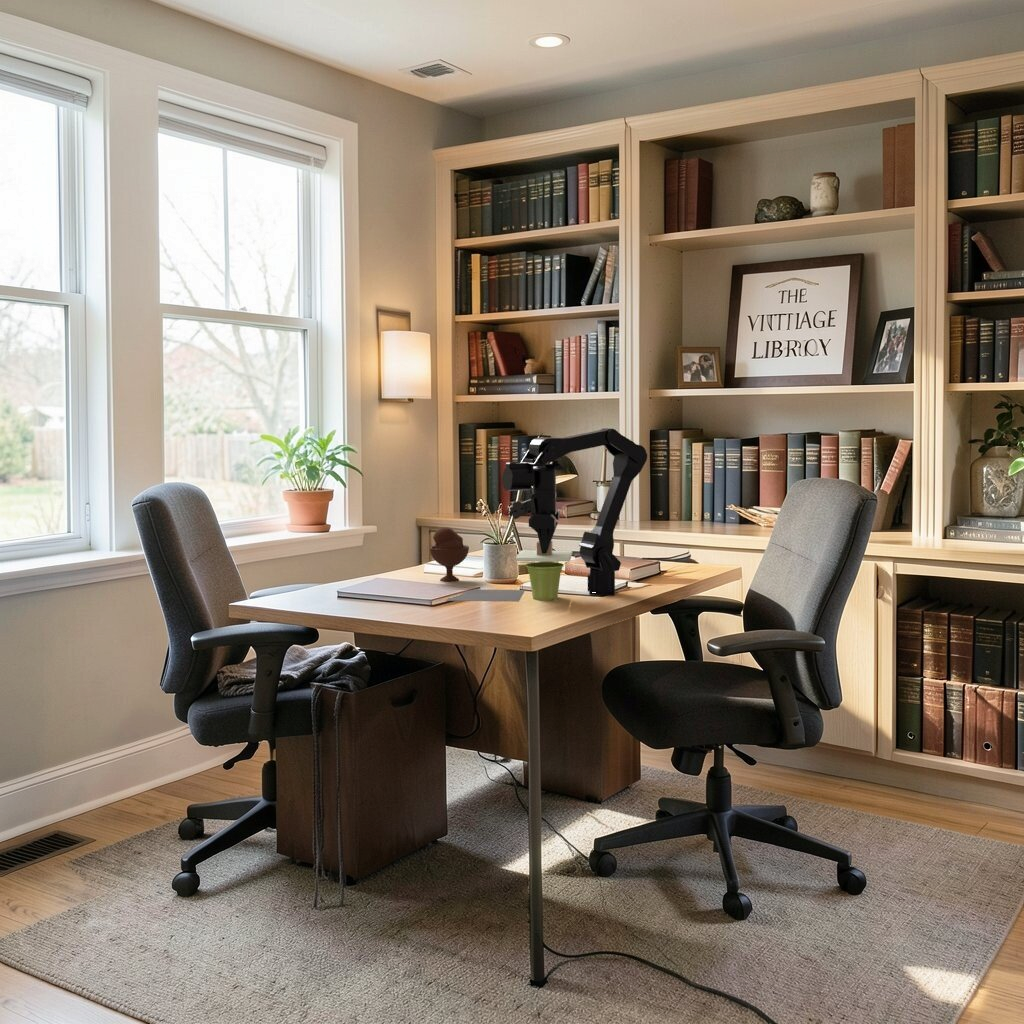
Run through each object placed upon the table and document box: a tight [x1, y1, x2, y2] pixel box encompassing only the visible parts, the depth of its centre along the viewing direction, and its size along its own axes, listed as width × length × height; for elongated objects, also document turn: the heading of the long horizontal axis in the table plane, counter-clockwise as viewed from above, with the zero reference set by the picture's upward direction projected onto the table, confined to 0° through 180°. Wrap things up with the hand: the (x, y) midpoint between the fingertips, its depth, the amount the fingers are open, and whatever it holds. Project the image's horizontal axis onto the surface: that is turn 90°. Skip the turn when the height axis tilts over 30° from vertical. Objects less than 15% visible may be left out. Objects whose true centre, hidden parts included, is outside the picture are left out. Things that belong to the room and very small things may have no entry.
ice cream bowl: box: [429, 526, 470, 583], centre depth 293 cm, size 11×11×15 cm
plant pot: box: [525, 561, 564, 601], centre depth 266 cm, size 9×9×9 cm
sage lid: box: [515, 540, 573, 562], centre depth 265 cm, size 13×13×4 cm
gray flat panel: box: [445, 588, 526, 603], centre depth 271 cm, size 18×16×1 cm
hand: (544, 552), depth 265 cm, fingers closed on sage lid, 4 cm apart
